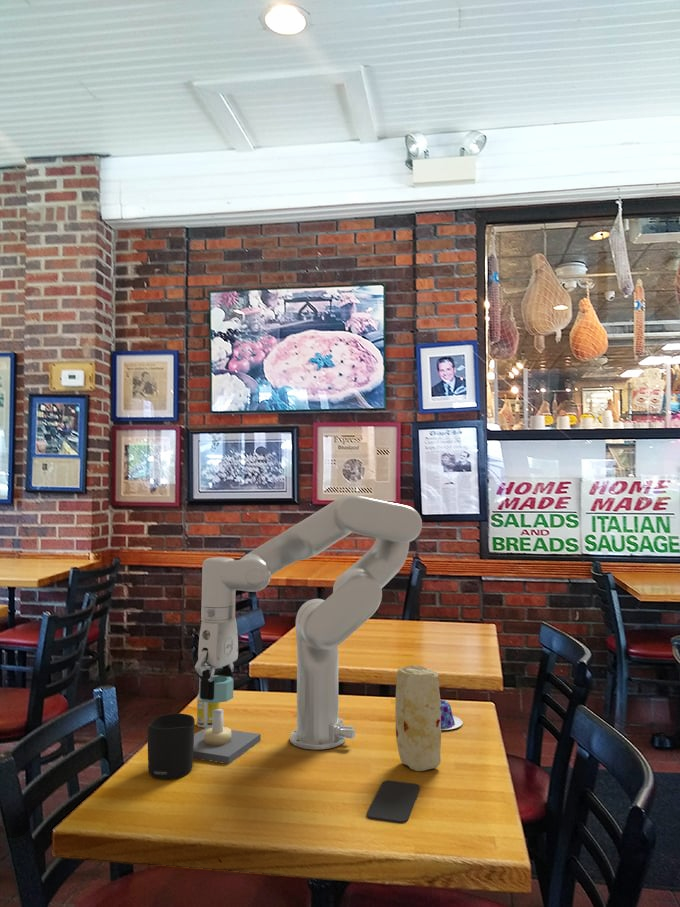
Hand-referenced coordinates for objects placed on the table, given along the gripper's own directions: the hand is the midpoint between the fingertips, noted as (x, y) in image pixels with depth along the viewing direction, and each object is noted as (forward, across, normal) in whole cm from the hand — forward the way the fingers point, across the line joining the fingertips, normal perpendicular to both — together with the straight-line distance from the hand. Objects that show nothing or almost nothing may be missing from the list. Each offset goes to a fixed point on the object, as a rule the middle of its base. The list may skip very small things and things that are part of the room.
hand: (216, 693), depth 149 cm
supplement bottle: (+12, +12, +10) cm, 20 cm away
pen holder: (+12, -14, +2) cm, 19 cm away
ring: (+1, 0, 0) cm, 1 cm away
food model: (+11, +6, -44) cm, 46 cm away
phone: (+12, -11, -44) cm, 47 cm away
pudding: (+12, +33, -42) cm, 55 cm away
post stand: (+12, 0, 0) cm, 12 cm away
